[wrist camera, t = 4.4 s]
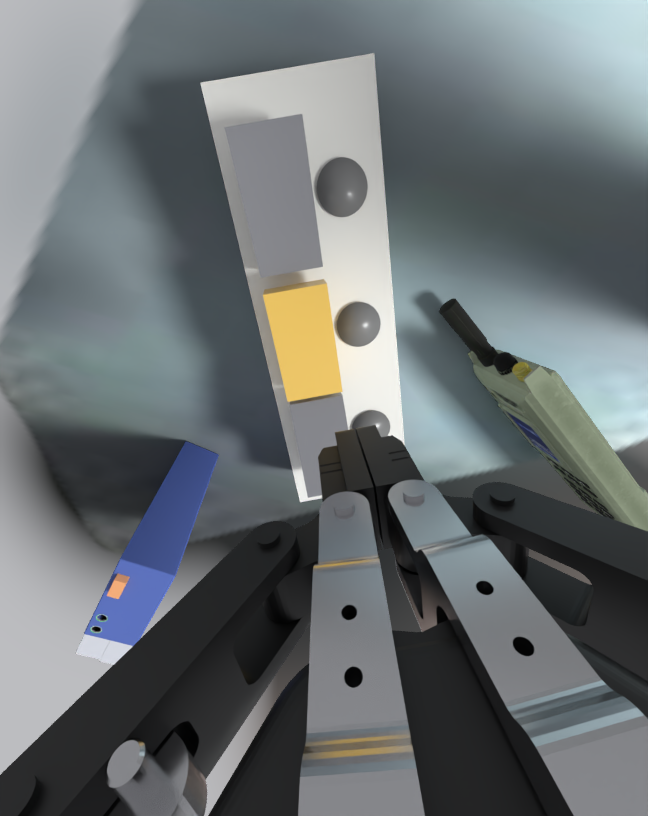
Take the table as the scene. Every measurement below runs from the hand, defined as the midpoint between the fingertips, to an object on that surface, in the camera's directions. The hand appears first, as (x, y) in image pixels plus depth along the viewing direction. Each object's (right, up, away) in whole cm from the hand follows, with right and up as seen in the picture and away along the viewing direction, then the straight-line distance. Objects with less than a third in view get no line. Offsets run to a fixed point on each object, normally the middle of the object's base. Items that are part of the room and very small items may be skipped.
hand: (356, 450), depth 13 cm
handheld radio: (+16, +1, +16) cm, 23 cm away
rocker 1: (-2, +6, +8) cm, 10 cm away
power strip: (-1, +8, +12) cm, 14 cm away
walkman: (-13, -5, +16) cm, 21 cm away
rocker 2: (-1, 0, +11) cm, 11 cm away
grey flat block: (-3, +12, +5) cm, 14 cm away
